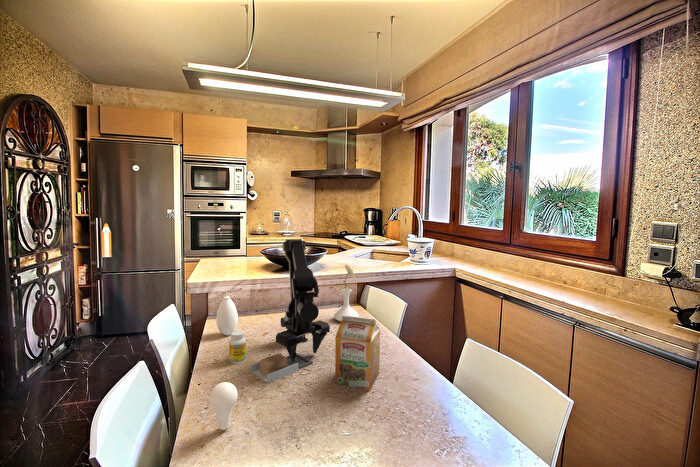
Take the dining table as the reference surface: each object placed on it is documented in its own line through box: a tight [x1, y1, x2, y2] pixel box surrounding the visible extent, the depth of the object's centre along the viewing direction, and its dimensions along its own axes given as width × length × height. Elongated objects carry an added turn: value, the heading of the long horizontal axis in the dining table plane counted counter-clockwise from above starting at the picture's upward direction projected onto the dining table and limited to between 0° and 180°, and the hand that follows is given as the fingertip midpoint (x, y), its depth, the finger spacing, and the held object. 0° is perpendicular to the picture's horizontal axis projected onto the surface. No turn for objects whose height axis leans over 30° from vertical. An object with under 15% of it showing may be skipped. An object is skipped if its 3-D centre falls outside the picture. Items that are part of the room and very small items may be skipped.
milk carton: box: [334, 315, 381, 392], centre depth 102 cm, size 11×11×19 cm
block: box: [259, 352, 288, 377], centre depth 106 cm, size 7×4×4 cm, turn 136°
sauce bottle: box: [216, 290, 239, 336], centre depth 135 cm, size 8×8×18 cm
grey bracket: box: [250, 353, 299, 384], centre depth 106 cm, size 11×10×2 cm
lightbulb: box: [208, 381, 239, 431], centre depth 79 cm, size 6×6×11 cm
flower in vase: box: [333, 264, 360, 322], centre depth 154 cm, size 13×11×25 cm
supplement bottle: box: [228, 330, 248, 365], centre depth 113 cm, size 5×5×10 cm
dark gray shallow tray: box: [285, 352, 314, 370], centre depth 113 cm, size 5×9×1 cm, turn 46°
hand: (303, 357), depth 114 cm, fingers open, 9 cm apart
